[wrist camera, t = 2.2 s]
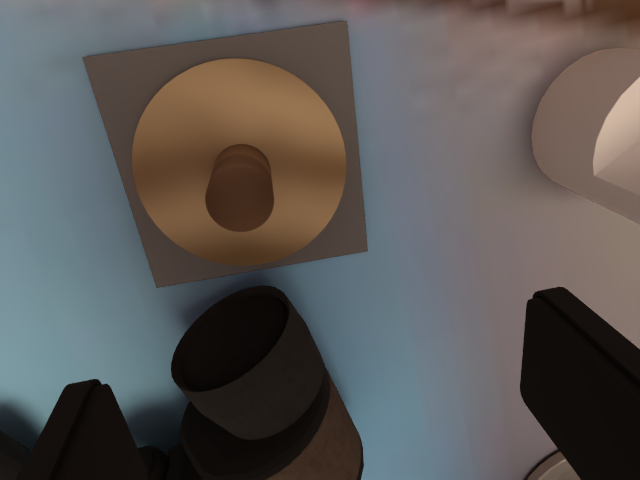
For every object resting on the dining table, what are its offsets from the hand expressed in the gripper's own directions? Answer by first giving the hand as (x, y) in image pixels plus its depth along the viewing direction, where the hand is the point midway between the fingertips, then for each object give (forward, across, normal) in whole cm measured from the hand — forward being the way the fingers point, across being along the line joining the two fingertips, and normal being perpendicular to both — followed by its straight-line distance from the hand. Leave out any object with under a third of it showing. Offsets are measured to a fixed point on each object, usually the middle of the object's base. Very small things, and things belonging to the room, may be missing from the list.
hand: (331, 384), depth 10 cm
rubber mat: (+20, +2, 0) cm, 20 cm away
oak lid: (+19, +2, 0) cm, 19 cm away
